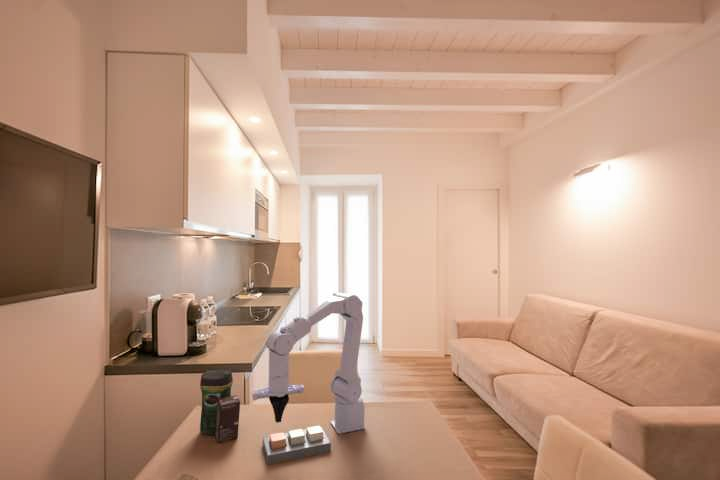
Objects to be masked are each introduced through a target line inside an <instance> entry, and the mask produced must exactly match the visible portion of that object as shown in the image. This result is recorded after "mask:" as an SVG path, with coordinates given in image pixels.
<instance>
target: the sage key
mask: <svg viewBox="0 0 720 480" xmlns="http://www.w3.org/2000/svg"><path fill="white" fill-rule="evenodd" d="M303 430H304V429H302V428H297V429H293V430H288V433H289V434H288V441H289V443H290V446H291V445H296V444H301V443H305V434H304V432H303Z"/></svg>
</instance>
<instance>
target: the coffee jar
mask: <svg viewBox="0 0 720 480" xmlns="http://www.w3.org/2000/svg"><path fill="white" fill-rule="evenodd" d="M233 383H234V379H233V373H232V371H231V370H207V371H205V372H203V373H202V374H201V376H200V383H199V388H200V391H201V410H200V421H199V422H200V423H199V431H200V433H201V434H204V435H216V421H217V403H218V399H222V398H225V397H232V395H231V394H232V393H231V390H232V386H233Z"/></svg>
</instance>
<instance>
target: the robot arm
mask: <svg viewBox="0 0 720 480" xmlns="http://www.w3.org/2000/svg"><path fill="white" fill-rule="evenodd" d="M332 314H339V315H341V317H342V318H343V319H344V320H345V330H344V335H343V336H344V337H343V343H342V351H341V359H340V365H339V366H340V367H339V369H338V370H336V371H335V372H334V377H333V379H332V381H331V384H330V391H331V392H332V393H333V395H334V397H333V398H334V420H330V424H331V426H332V427H333V428H334V430H335V432H336V433H337V434H338V435H339V434H340V435H341V434H344V433H350V432H355V431H360V430H364V429H366V426H365V402H364V400H363V398H362V397H361V396H362V392H363V390H362V385H361V382H362V379H361V377H360V375H359V373H358V372H357V371H358V370H357V369H358V361H359V355H360V353H359V352H360V344H361V339H362V329H363V323H364V322H363V321H364V316H363V301H362V300H361V298H359V297H358V296H357V295H355V294H349V293H343V292H340V291H336V292H334V293H332V294H331V295H329V296H328V297H327V298H326V300H325V301H323V303H321V304H320V305H319V306H318V307H316V308H315V309H313V310H312V311H311V312H310V313H309V314H308V315H306V316H305V317H304V316H301V315H300V316H295V317H294V318H292V319H293V320H292V321H291V322H290V323H288V324H287V325H284V326H282V327H281V328H280V330H277V331H276V330H274V331H272V332H271V333H270V334H269V335H268V337H267V339H266V340H265V342H264V343H265V347H266V348H267V349H268V352H269V353H268V387H265V388H261V389H258V390H252V392H251V393H252V394H251V396H252V398H251V399H252V401H253V402H254V401H257V400H261V399H266V398H267V399H269V402H270V405H271V407H272V410H273V415H274V420H275V423H277V424H278V423H281V422H282V418H283V414H284V412H285V410H286V407H287V405H288V403H289V402H290V401H289V400H290V397H289V395H296V394H301V395H303V394H305V386H304V385H303V384H290V381H289V379H290V352H292V350H293V348H294V346H295V344H296V343H298V342H299V341H300V340H302V339H303V338H304V337H306V336H307V335H308V334H310V333H311V331H312V328H313V326H315V325H316V324H318V323H319V322H321V321H323V320H324V319H326V318H327V317H329V316H331V315H332Z"/></svg>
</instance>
